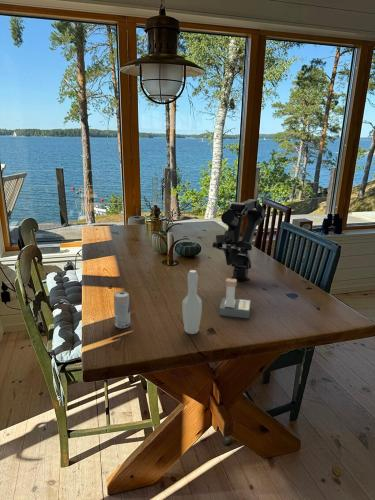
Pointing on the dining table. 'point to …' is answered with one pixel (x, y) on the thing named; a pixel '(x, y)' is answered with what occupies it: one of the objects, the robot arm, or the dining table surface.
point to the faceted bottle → (192, 305)
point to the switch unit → (236, 308)
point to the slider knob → (230, 292)
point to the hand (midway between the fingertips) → (228, 265)
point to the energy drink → (122, 309)
